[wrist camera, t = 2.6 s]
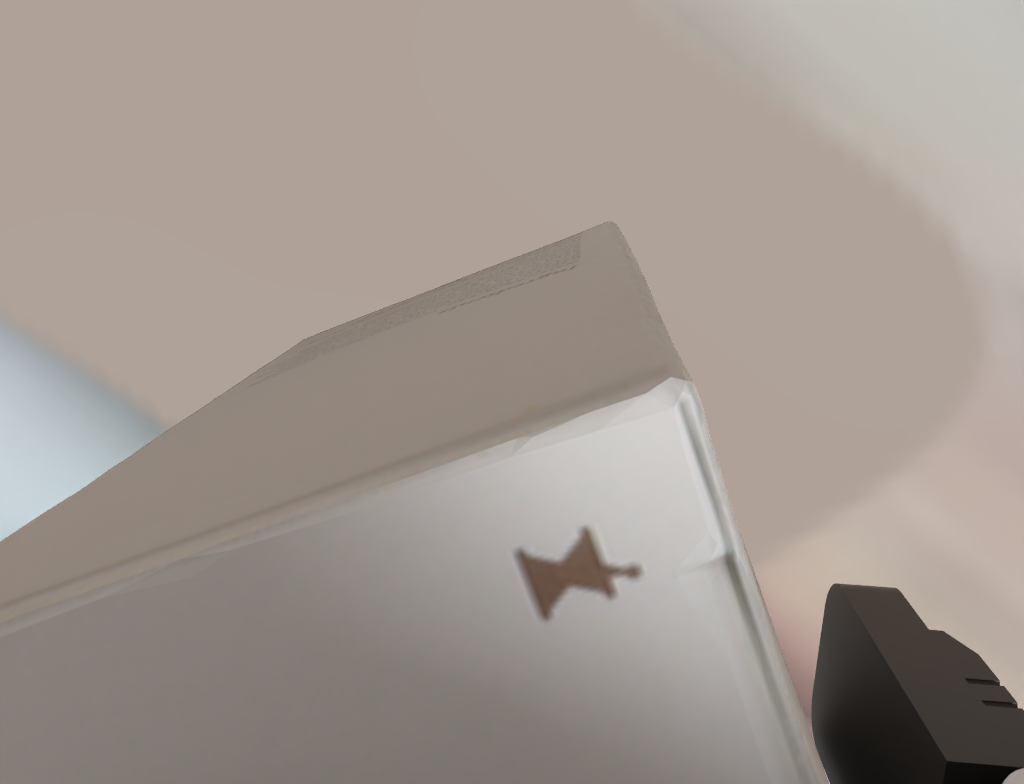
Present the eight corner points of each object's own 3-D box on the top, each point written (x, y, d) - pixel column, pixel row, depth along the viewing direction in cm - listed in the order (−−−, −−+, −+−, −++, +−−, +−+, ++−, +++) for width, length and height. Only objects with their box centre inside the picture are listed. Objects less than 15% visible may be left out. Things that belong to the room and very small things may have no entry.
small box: (303, 334, 15) (-275, 672, 5) (620, 212, 14) (684, 330, 4) (479, 736, 17) (303, 1609, 7) (776, 650, 16) (1098, 1511, 6)
